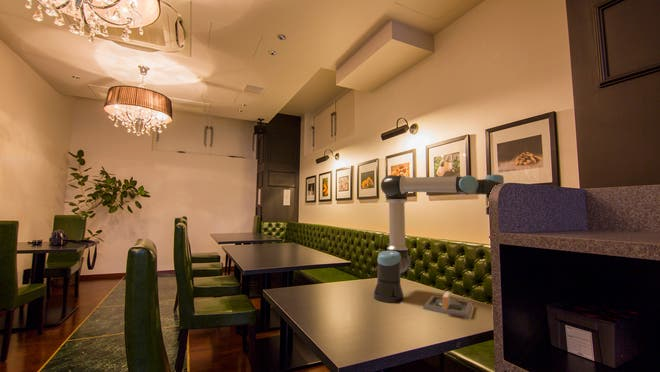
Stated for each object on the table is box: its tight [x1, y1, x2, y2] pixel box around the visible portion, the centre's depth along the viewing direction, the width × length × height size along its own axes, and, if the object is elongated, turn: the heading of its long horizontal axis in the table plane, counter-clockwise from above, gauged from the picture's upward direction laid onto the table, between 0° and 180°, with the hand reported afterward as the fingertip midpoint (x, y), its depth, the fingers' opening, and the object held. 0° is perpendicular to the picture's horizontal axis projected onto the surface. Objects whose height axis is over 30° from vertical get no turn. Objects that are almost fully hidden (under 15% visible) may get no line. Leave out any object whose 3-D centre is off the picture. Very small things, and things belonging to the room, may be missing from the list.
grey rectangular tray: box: [421, 295, 475, 320], centre depth 131 cm, size 20×18×3 cm
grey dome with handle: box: [436, 291, 462, 311], centre depth 129 cm, size 17×11×7 cm, turn 150°
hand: (495, 251), depth 135 cm, fingers open, 13 cm apart
